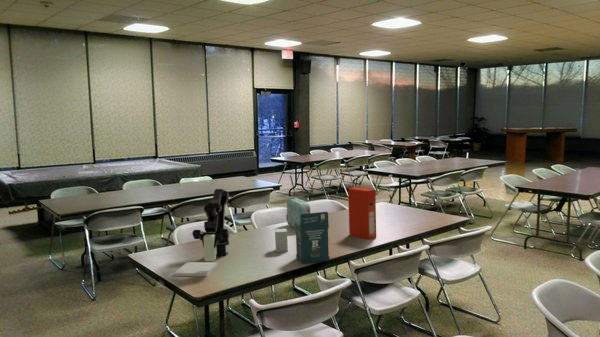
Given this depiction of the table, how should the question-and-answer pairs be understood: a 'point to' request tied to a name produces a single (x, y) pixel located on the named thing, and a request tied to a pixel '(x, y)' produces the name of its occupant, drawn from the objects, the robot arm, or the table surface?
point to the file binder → (362, 212)
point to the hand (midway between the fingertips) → (209, 248)
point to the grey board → (196, 269)
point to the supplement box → (281, 240)
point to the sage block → (209, 247)
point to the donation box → (312, 238)
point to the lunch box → (296, 210)
